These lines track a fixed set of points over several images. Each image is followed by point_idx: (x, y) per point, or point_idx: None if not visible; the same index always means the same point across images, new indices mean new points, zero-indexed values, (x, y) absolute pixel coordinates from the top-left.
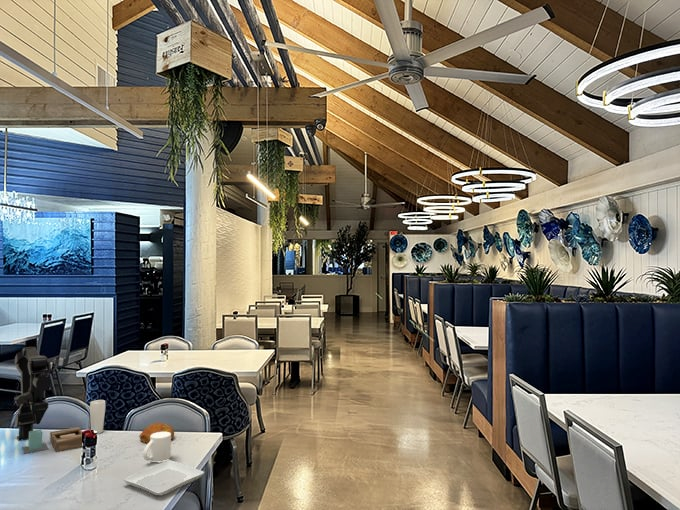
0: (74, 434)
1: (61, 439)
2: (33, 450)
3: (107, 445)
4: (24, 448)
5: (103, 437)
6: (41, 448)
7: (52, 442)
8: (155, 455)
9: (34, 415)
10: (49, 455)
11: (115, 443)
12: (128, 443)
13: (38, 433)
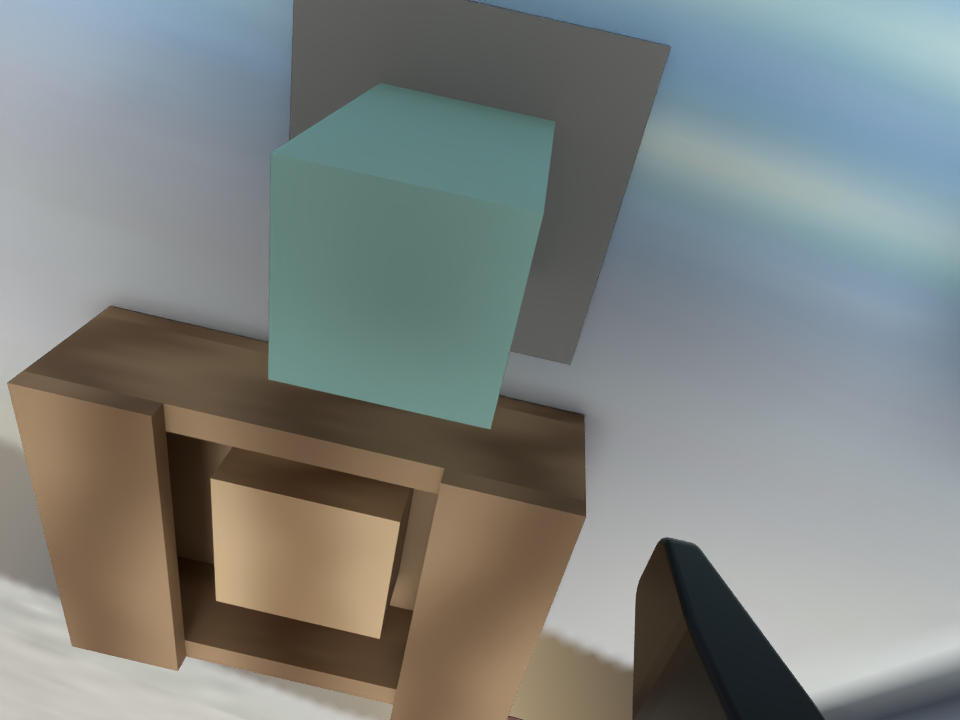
0: (334, 621)
1: (81, 456)
2: None
3: None
4: (549, 52)
5: (318, 705)
6: None
7: None
8: None
9: (679, 670)
10: (31, 209)
11: (93, 677)
12: (42, 710)
13: (278, 307)
